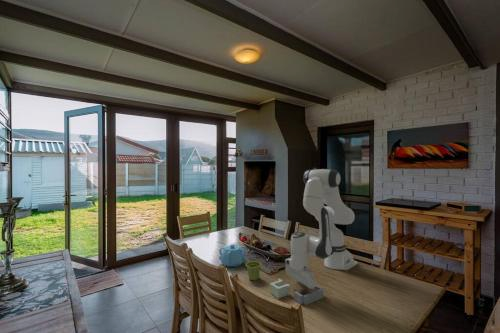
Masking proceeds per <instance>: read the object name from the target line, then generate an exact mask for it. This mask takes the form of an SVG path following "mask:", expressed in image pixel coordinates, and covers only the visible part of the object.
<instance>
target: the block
mask: <svg viewBox="0 0 500 333" xmlns="http://www.w3.org/2000/svg"><path fill="white" fill-rule="evenodd" d="M296 291H297V292H298V293H300V294H302V295H306V294H309V293H311V292H312V289H309V288H308V287H306V286H304V285H303V284H301V283H300V282H299V283H296Z"/></svg>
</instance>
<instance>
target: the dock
mask: <svg viewBox="0 0 500 333" xmlns="http://www.w3.org/2000/svg"><path fill="white" fill-rule="evenodd" d="M293 294H294V295H293V296H294V297H293V298H294V299H293V300H294V301H295V302H296V303H298V304H299V303H300V304H299V305H301V304H302V305H304V306H307V305H309V304H312V303H314V302H318V301H319V300H323V299H324V287H321V286H320V285H318V284H317V283H316V286H315V287H314V288H313V291H311V293H309V294H306V295H302V294H300V293H298V292H297V290H296V291H293Z"/></svg>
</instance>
